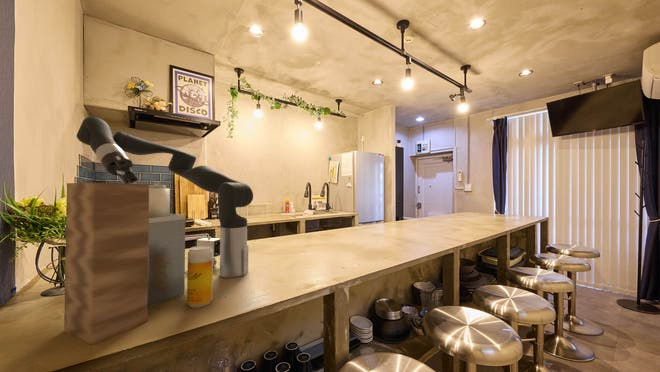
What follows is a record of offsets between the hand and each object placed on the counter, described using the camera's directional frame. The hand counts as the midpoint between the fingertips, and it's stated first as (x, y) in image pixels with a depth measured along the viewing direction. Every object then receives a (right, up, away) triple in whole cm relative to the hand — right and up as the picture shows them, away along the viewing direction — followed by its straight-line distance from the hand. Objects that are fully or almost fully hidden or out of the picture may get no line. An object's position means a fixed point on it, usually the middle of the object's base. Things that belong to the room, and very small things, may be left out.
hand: (137, 189), depth 84 cm
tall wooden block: (+14, -30, -27) cm, 43 cm away
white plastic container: (+9, -9, -9) cm, 16 cm away
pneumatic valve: (+16, -31, +17) cm, 39 cm away
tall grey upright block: (+15, -31, -12) cm, 36 cm away
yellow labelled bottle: (+29, -31, -16) cm, 45 cm away
